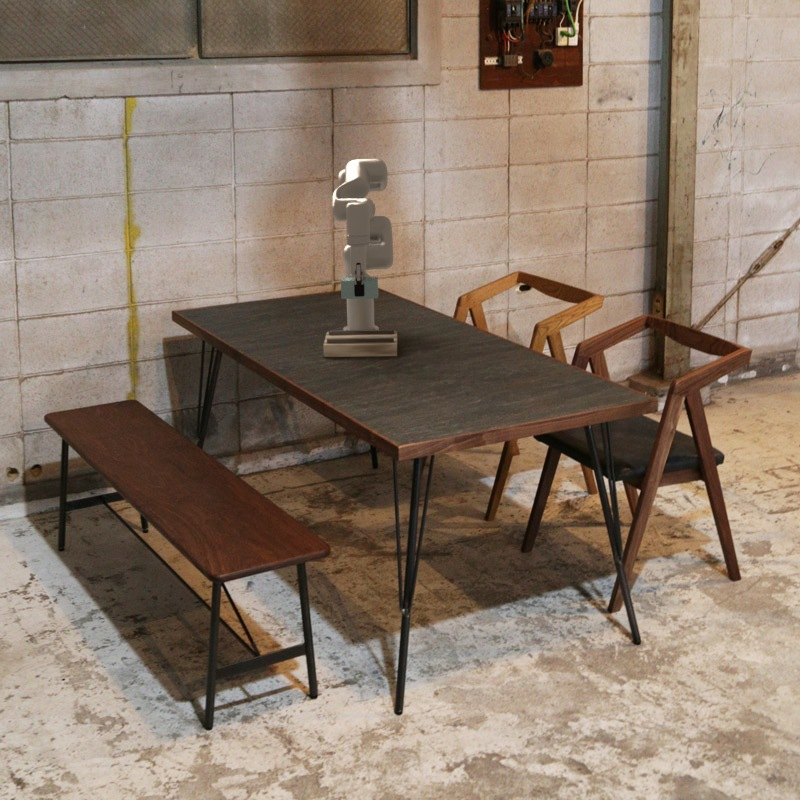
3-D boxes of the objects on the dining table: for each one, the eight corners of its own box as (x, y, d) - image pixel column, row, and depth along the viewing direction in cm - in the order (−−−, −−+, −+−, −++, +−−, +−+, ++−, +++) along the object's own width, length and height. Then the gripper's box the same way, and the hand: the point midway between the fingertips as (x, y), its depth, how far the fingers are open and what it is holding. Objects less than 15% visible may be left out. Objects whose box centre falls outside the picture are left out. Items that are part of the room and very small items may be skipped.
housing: (378, 294, 429) (377, 276, 428) (377, 298, 424) (377, 280, 422) (342, 295, 430) (341, 277, 428) (341, 299, 424) (340, 281, 422)
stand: (327, 343, 441) (326, 328, 439) (397, 342, 440) (397, 327, 439) (323, 357, 423) (323, 341, 422) (396, 355, 423) (396, 340, 422)
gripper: (348, 235, 430) (349, 289, 435) (345, 244, 413) (347, 299, 418) (370, 235, 429) (371, 288, 435) (369, 244, 413) (370, 299, 418)
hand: (359, 293), depth 426 cm, fingers closed on housing, 6 cm apart
